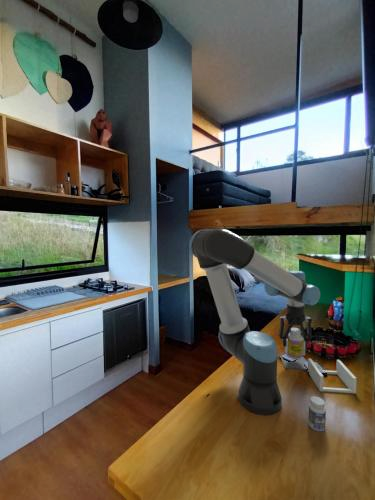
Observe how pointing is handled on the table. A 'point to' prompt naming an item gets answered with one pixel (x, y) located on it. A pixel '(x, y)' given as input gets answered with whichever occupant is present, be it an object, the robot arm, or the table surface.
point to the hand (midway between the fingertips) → (294, 353)
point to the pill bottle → (317, 414)
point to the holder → (340, 371)
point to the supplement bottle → (295, 344)
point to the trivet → (294, 364)
